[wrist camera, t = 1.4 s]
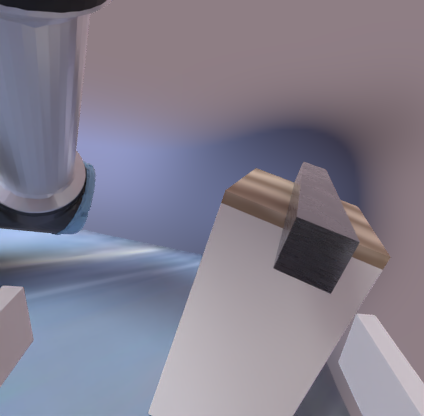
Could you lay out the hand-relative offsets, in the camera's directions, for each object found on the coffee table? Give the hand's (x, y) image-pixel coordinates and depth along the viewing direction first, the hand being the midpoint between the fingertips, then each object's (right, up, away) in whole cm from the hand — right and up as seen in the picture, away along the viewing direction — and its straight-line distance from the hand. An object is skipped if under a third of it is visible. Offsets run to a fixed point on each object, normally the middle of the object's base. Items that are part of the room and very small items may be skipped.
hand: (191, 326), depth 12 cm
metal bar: (+9, +4, +15) cm, 18 cm away
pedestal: (+2, -21, +30) cm, 36 cm away
